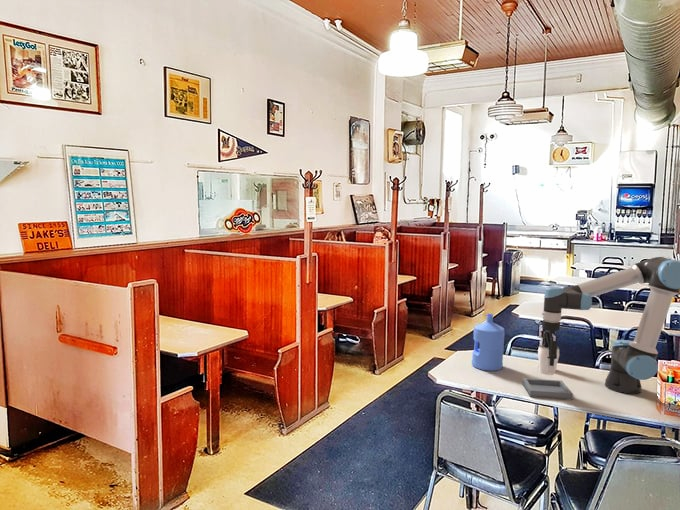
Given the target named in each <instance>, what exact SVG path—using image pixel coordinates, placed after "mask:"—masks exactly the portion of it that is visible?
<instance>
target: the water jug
mask: <svg viewBox="0 0 680 510" xmlns="http://www.w3.org/2000/svg"><path fill="white" fill-rule="evenodd" d="M493 319H494V314H492V313H486V321H484V322H481V323H478V324H475V326H474V327H473V340H474V346H473V351H472V357H471V358H472V359H471V365H472V366H473V367H474V368H476V369H479V370H483V371H487V372H489V371H490V372H493V371H496V372H497V371H500V370H502V368H503V365H504V363H503V359H504V350H505V349H504V343H505V328H504V327H503V326H501V325H499V324H497V323H495V322H493V321H494V320H493ZM478 347H479V348H478Z"/></svg>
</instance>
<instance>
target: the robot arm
mask: <svg viewBox="0 0 680 510" xmlns="http://www.w3.org/2000/svg"><path fill="white" fill-rule="evenodd" d="M646 283H648V285H647V286H648V287H649V289H650V291H649V295H648V297H647V300H646V303H645V306H644V309H643V312H642V315H641V318H640V321H639V324H638V327H637V330H636V333H635V336H634V339H633V340H628V339H627V340H626V339H616V340H614V341H613V342H612V346H611V358H610V359H611V360H610V370H609V372H608V374H607V376H606V378H605V381H604V386H605V388H607V387H608V388H607V389H609V390H611V389H612V390H611V391H614V390H615V391H614V392H617V391H619V392H618V393H621V392H624V393H623V394H627V393H638V394H640V393H642V388H643V387H642V382H641V381H647V380H649V379H651V378H653V377H655V376H656V375H657V372H658V370H659V365H658V362H657V358H658V354H659V352H658V349H656V348H657V347H656V346H657V344H658V341H659V340H660V339H659V338H660V336H661V332H662V329H663V327H664V324H665V322H666V319H667V316H668V312H669V310H670V306H671V304H672V301H673V298H674V297H675V296H676V295H679V293H680V261H679V260H677V259H672V258H667V257H664V256H655V257H651V258H648V259H645V260H643V261H639V262H637V263H634V264H632V265H631V267H629V268H625V269H622V270H619V271H616V272H612V273H610V274H606V275H603V276H600V277H596V278H594V279H591V280H588V281H586V282H582V283H578V284H575V285H572V286H563V287H560V286H554V285H553V286H547V287H546V288H545V290H544V291H545V292H544V296H543V297H544V299H543V300H544V301H543V311H542V313H541V315H542V319H543V320H542V321H541V322H542V323H541V328H542V329H543V330H542V331H544V332H543V340H542V345H543V344H544V347H545V348H548V347H549V357H547V358H548V365H547V372H551V373H554V363H555V359H557V347H558V338H559V337H558V336H557V334H556V331H557V332H559V331H560V330H561V320H562V310H563V309H564V310H566V309H567V310H577V311H578V310H579V311H590V310H591V308H592V306H593V305H592V303H593V299H592V298H593V297H596V296H600V295H603V294H606V293H609V292H613V291H616V290H619V289H620V290H621V289H622V288H626V287H629V286H632V285H635V284H640V285H643V284H646ZM639 392H640V393H639Z"/></svg>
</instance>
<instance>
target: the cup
mask: <svg viewBox="0 0 680 510" xmlns="http://www.w3.org/2000/svg"><path fill="white" fill-rule="evenodd" d="M537 355H538V368H539V369H538V372H539V373H540V374H543V375H547V376H553V375H555V374H556V369H557V366H558V362H559V358H560V347H558V346H557V359H555V363H554V373H551V372H547V365H548V358H547V357H549V347H548V348H545V347H544V344H543V345H540V344H539V345H538V349H537Z"/></svg>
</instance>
